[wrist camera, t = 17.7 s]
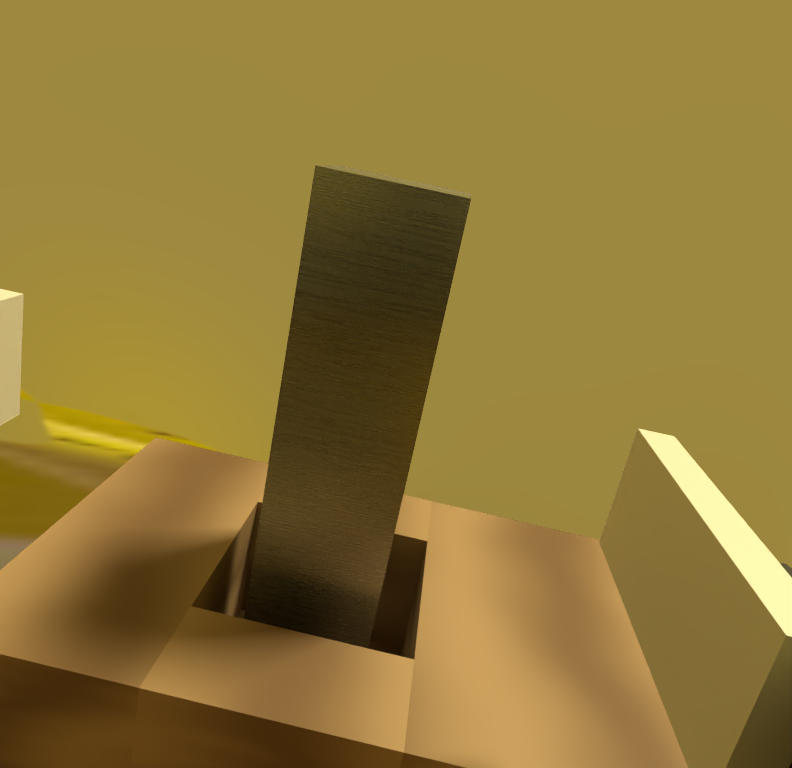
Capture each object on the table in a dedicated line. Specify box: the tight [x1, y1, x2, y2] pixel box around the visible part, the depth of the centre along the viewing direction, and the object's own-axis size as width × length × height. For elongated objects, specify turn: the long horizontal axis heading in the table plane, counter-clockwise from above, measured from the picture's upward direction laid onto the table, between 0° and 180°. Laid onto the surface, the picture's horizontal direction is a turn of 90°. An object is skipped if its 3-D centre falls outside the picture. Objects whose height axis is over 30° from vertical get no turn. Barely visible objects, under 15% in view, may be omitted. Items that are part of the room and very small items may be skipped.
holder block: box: [0, 438, 688, 768], centre depth 22 cm, size 20×12×5 cm, turn 84°
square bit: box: [244, 165, 471, 648], centre depth 20 cm, size 4×4×16 cm
